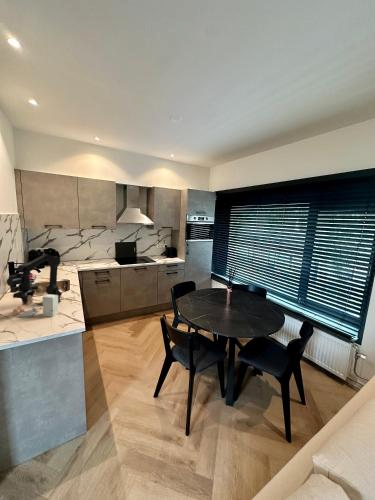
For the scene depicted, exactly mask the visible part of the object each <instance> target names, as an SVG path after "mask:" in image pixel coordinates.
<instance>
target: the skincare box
mask: <svg viewBox="0 0 375 500" xmlns="http://www.w3.org/2000/svg"><path fill="white" fill-rule="evenodd" d="M58 314H59V303H58V295H50V294H45V295H43V296H42V316H43V317H50V318H51V317H52V318H53V317H55V316H58Z"/></svg>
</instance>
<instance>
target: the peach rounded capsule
mask: <svg viewBox="0 0 375 500" xmlns="http://www.w3.org/2000/svg"><path fill="white" fill-rule="evenodd" d="M18 308H19V309H20V314H22V313H23V312H25V305H19V306H17V309H18Z"/></svg>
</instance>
